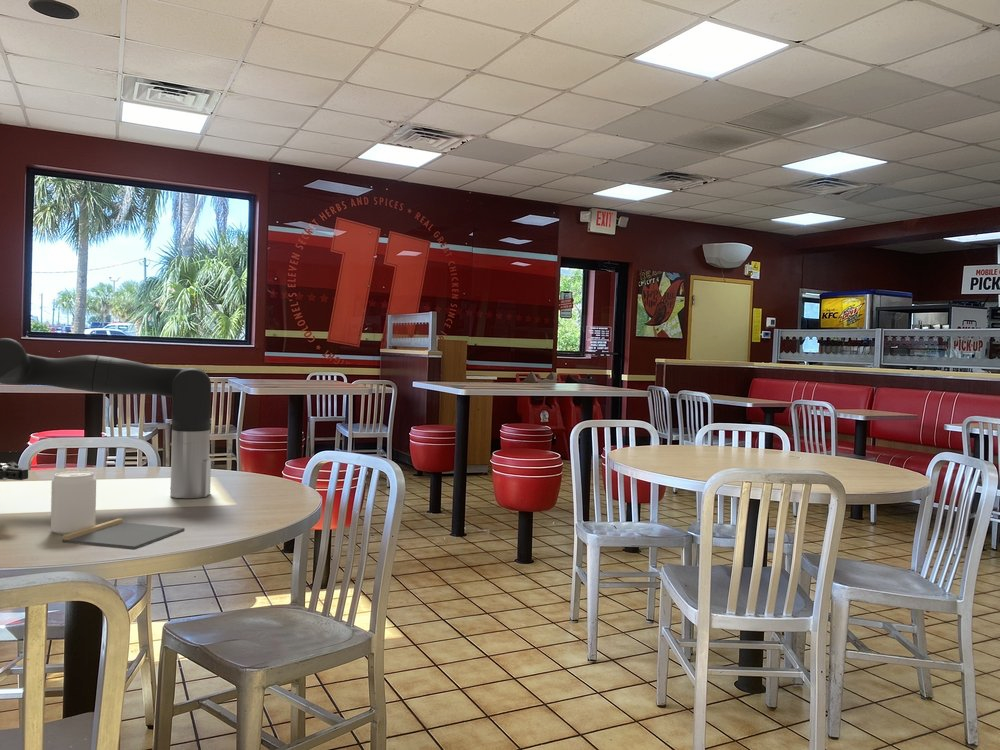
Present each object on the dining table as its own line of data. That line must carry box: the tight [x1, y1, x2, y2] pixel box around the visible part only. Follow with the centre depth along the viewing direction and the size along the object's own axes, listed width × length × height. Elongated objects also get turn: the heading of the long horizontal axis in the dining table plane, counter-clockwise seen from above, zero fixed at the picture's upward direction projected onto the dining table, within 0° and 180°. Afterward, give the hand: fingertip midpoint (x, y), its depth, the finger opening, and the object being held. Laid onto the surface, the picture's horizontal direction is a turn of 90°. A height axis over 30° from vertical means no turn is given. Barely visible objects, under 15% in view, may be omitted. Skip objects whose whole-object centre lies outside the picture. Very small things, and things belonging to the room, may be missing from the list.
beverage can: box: [50, 470, 97, 535], centre depth 159 cm, size 8×8×12 cm
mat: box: [62, 517, 186, 550], centre depth 157 cm, size 16×16×1 cm
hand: (25, 474), depth 161 cm, fingers closed
